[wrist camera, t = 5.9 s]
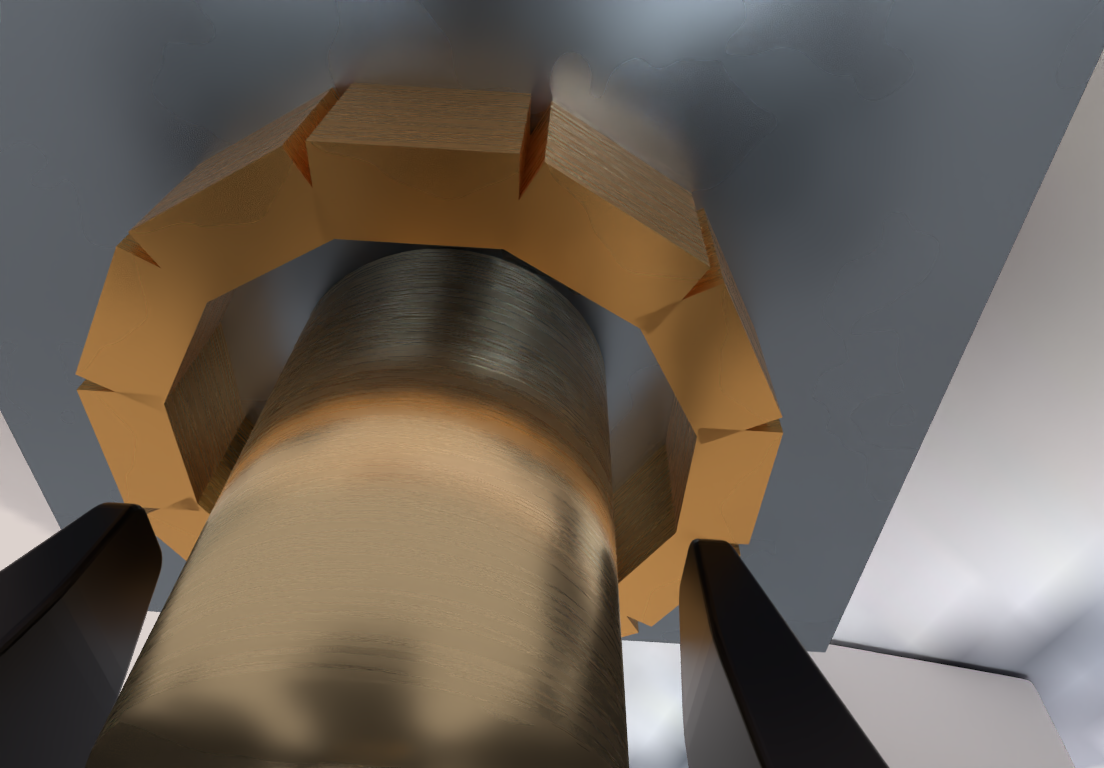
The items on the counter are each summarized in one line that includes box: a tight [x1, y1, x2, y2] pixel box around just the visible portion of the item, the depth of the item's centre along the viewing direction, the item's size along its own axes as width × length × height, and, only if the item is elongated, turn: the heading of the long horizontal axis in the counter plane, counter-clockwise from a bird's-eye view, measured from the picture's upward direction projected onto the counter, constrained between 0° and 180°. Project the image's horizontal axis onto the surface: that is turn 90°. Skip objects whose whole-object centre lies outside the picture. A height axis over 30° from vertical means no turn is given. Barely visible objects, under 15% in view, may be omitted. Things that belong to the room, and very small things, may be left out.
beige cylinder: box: [85, 249, 629, 768], centre depth 8 cm, size 4×4×7 cm
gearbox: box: [0, 0, 1104, 652], centre depth 12 cm, size 17×12×6 cm
